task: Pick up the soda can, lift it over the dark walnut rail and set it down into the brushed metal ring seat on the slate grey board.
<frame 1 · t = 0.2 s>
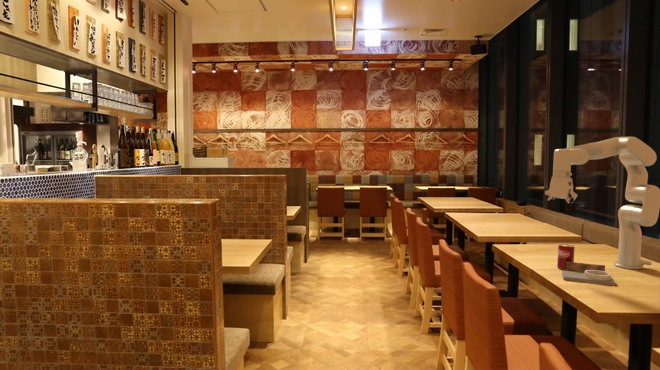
hand: (559, 210, 220), 30 cm above the table, tool pointing down, fingers open, 9 cm apart
soda can: (565, 269, 228), on the table
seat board: (587, 279, 209), on the table
rail: (584, 274, 218), on the table
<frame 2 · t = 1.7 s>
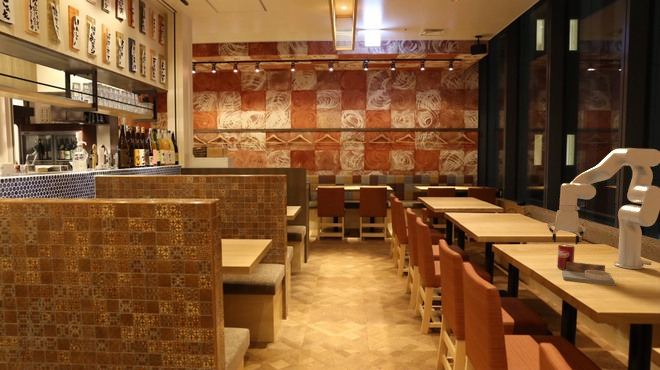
hand: (565, 242, 226), 13 cm above the table, tool pointing down, fingers open, 9 cm apart
nothing on the table moved.
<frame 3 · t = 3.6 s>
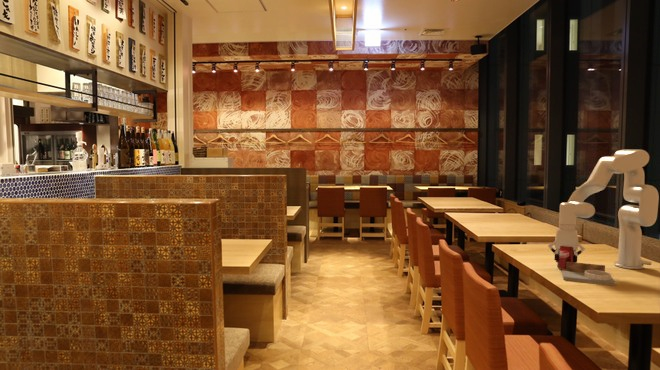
hand: (565, 262, 227), 3 cm above the table, tool pointing down, fingers closed on soda can, 7 cm apart
soda can: (565, 269, 228), on the table, touching gripper
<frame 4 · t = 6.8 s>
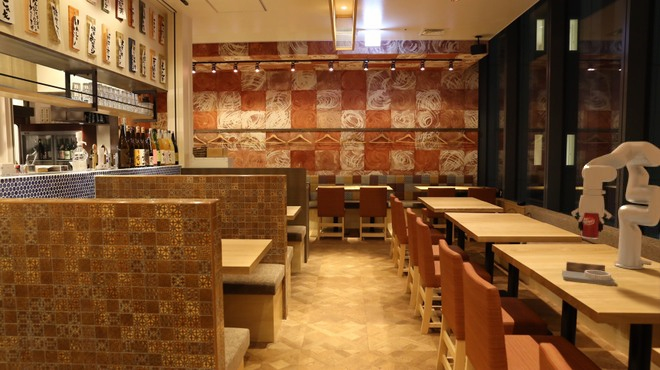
hand: (590, 230, 211), 22 cm above the table, tool pointing down, fingers closed on soda can, 7 cm apart
soda can: (589, 238, 211), point 18 cm above the table, touching gripper
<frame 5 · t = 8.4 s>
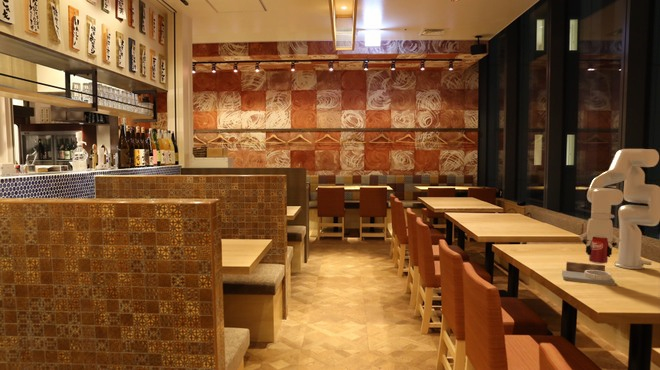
hand: (598, 255, 206), 12 cm above the table, tool pointing down, fingers closed on soda can, 7 cm apart
soda can: (598, 262, 206), point 8 cm above the table, touching gripper
when the fingers open (6 cm above the table, at t = 10.0 s): soda can drops 1 cm, resting on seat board.
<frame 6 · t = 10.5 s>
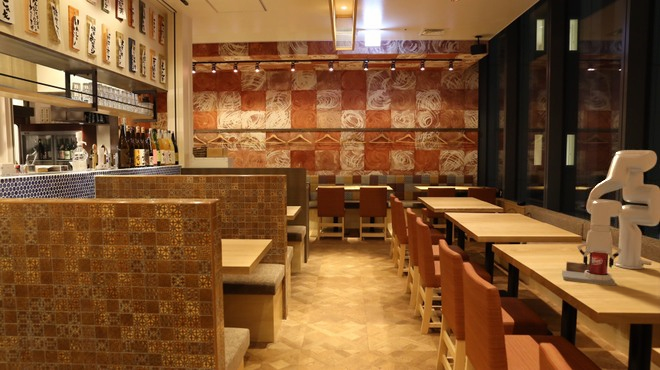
hand: (598, 265, 207), 7 cm above the table, tool pointing down, fingers open, 9 cm apart
soda can: (597, 277, 207), point 1 cm above the table, touching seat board
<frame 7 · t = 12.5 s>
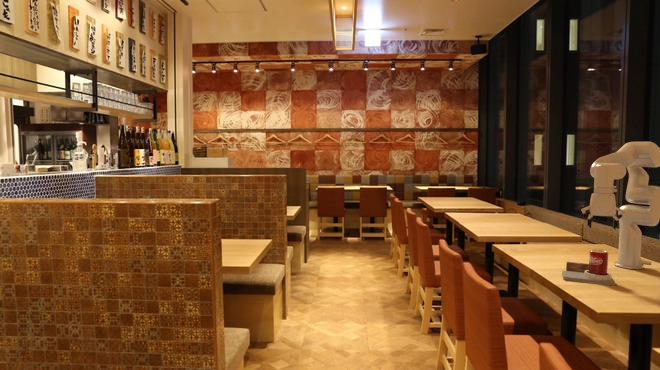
hand: (601, 228, 210), 23 cm above the table, tool pointing down, fingers open, 9 cm apart
nothing on the table moved.
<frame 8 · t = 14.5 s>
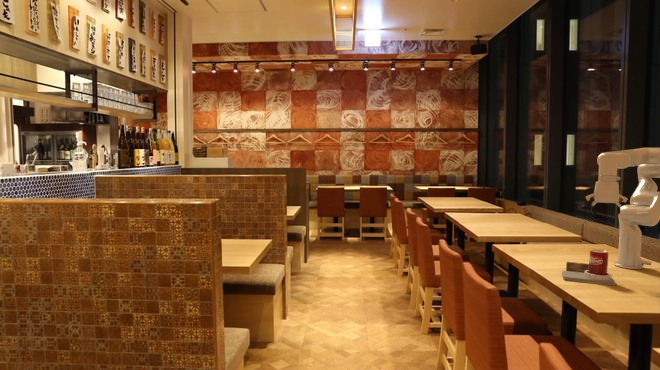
hand: (605, 214, 219), 28 cm above the table, tool pointing down, fingers open, 9 cm apart
nothing on the table moved.
at the end: soda can 0.2 cm from the target spot on the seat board, point 1.3 cm above the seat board's base; soda can tilted 0°; the gripper is holding nothing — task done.
